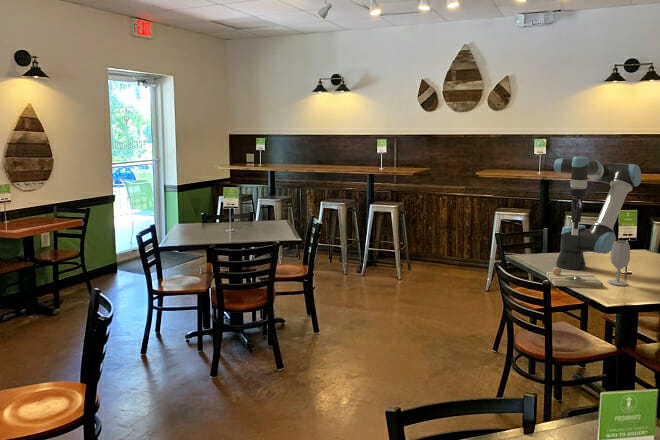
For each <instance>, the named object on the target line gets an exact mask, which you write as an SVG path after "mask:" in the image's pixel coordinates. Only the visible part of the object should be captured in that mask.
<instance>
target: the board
mask: <svg viewBox="0 0 660 440" xmlns="http://www.w3.org/2000/svg"><path fill="white" fill-rule="evenodd" d="M545 274H546V275H545V277H546V278H547V280H549V281H550V283H551V284H552V285H553V286H555V287H570V288H571V287H573V288H587V289H589V288H592V289H603V288H604V287H603V286H604V283H603V282H602V281H601V280H600V279H598V278H597V277H596V276H595V275H594V274H593V273H583V272H582V273H579V272H562V271H561V273H560V274H559V275H555V274H553V271H546V273H545ZM574 277H580V278H581V281H575V280H573V278H574Z"/></svg>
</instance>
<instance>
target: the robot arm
mask: <svg viewBox="0 0 660 440" xmlns="http://www.w3.org/2000/svg"><path fill="white" fill-rule="evenodd" d="M553 169H554V172H555V173H558V174H567V175H570V181H569V184H570V185H569V186H570V188H569V196H571V197H572V200H571V201H570V202H571V218H570V219H571V222H572V223H571V224H572V225H564V226H563V227H562V229H561V233H560V234H561V237H560V251H559V254H558V257H557V258H556V261H555V267H559V268H560V269H564V270H572V271H573V270H574V271H578V270H579V271H580V270H585V269H586V264H587V263H586V260H585V257H584V251H586V252H591V253H597V254H604V255H605V254H609V253H611V250H612V247H613V244H614V242H615V241H617V237H616V234H615V231H614V226H615V224H616V221H617V219H618V217H619V214H620V212H621V209H622V207H623V205H624V203H625V200H626V197H627V195H628V193H630V192H632V191H633V188H634V187H638V186H640V184H641V181H642V172H641V168H640V167H639V165H638V164H634V163H633V164H632V163H620V162H618V163H617V162H603V163H602V162H601V163H600V161H599V160H596V159H589V157H588V156H573V158H557V159H555V161H554V163H553ZM588 178H589V179H590V180H592V181H596V182H600V183H603V184H608V185H609V186H610V189H609V191H608V194H607V196H606V198H605V201H604V204H603V206H602V208H601V210H600V212H599V214H598V217H597V219H596V222H594V223H593V224H591V225H590V228H586V225H583V224H580V222H581V219H582V214H583V213H582V212H583V207H584V203H583V197H586V196H587V188H588Z"/></svg>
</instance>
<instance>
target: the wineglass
mask: <svg viewBox="0 0 660 440" xmlns="http://www.w3.org/2000/svg"><path fill="white" fill-rule="evenodd" d="M630 260H631V248H630V243H629V242H628V241H625V240H624V241H623V240H615V242H614V244H613V247H612V250H611V251H610V262H611V264H612V265H613V266H614V267H615V268H616V270H617V271H616V279H609V280H607V283H608V284H610V285H614V286H620V287H621V286H622V287H623V286H624V287H626V286H628V285H629V284H628V282H627V281H623V280H620V278H621V270H622V269H623V268H624V269H625V267H627V266H629V263H630Z"/></svg>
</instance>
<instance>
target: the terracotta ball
mask: <svg viewBox="0 0 660 440" xmlns="http://www.w3.org/2000/svg"><path fill="white" fill-rule="evenodd" d="M561 269H562V268H560V267H557V266H555V267H554V268H553V269H552V272H553V274H555V275H559V274H560V273H561V272H562V270H561Z"/></svg>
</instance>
